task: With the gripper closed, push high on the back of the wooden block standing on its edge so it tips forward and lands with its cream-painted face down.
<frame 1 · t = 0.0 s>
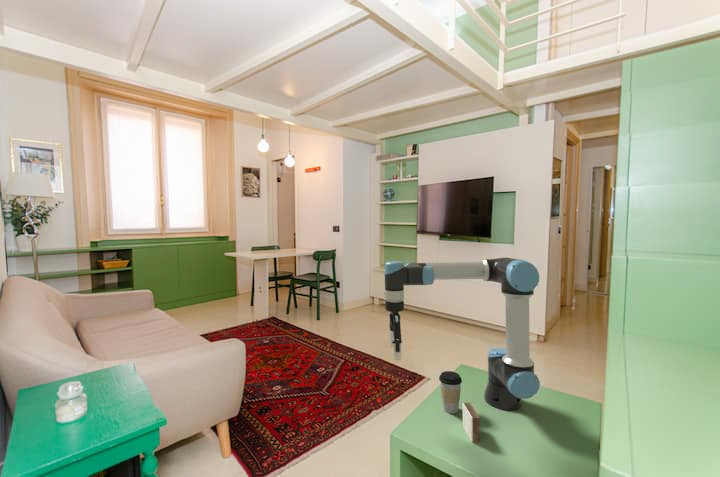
hand: (395, 352, 128), 28 cm above the table, fingers open, 13 cm apart
wooden block: (471, 433, 120), on the table
coffee cup: (450, 410, 136), on the table
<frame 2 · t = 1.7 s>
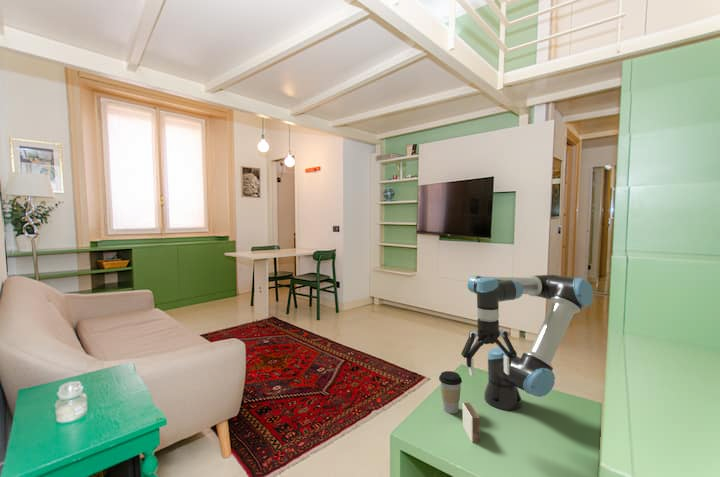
hand: (489, 374, 121), 22 cm above the table, fingers open, 13 cm apart
nothing on the table moved.
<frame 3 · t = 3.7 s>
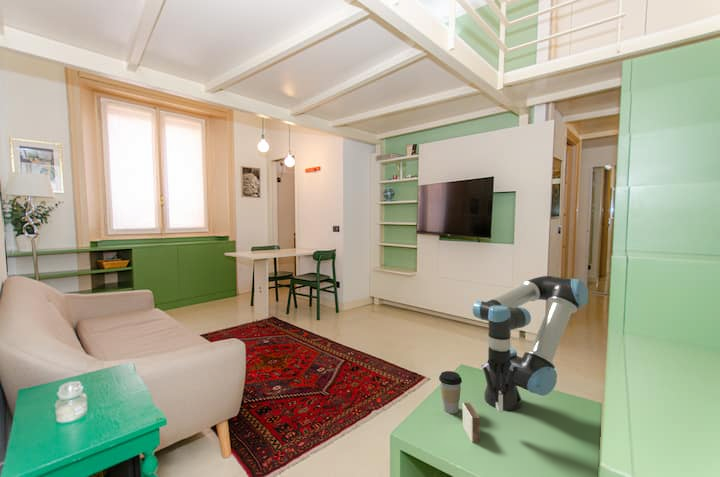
hand: (499, 409, 120), 9 cm above the table, fingers closed
nothing on the table moved.
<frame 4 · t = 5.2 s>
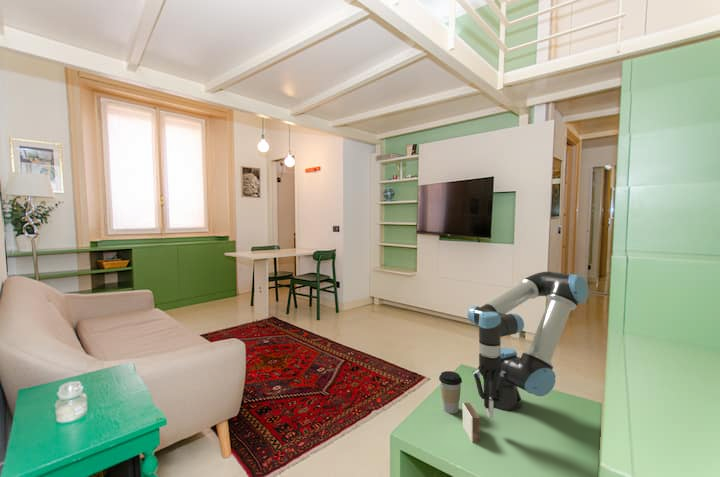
hand: (489, 416, 120), 7 cm above the table, fingers closed
nothing on the table moved.
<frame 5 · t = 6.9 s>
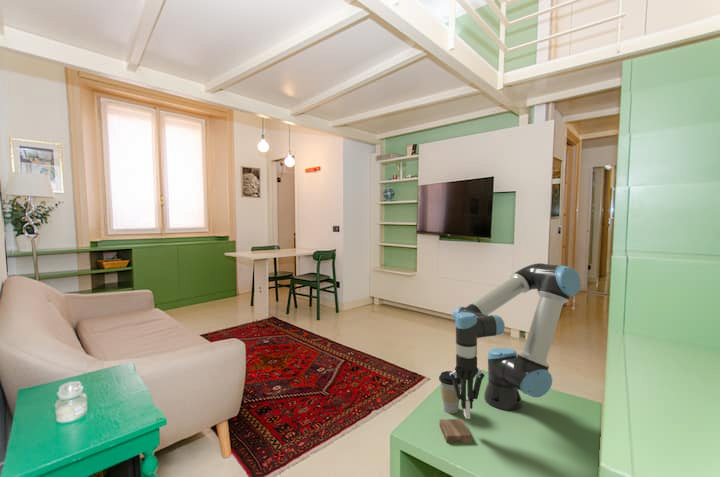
hand: (466, 416, 120), 7 cm above the table, fingers closed
wooden block: (466, 430, 120), point 1 cm above the table, tilted 90°
everything else where it was.
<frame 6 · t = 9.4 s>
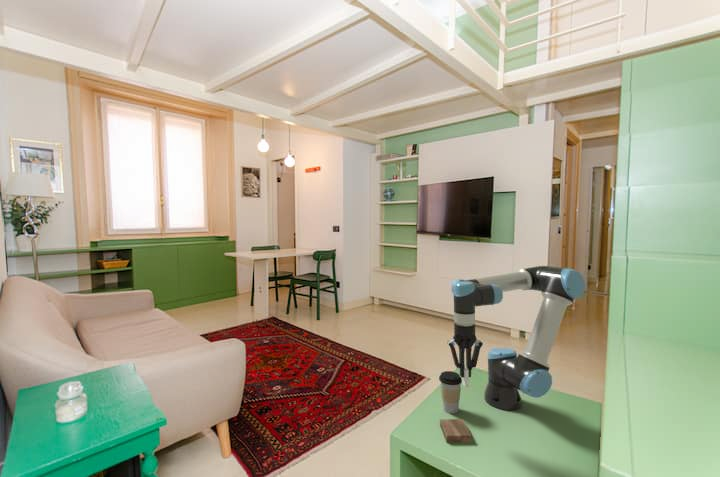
hand: (465, 385, 120), 18 cm above the table, fingers closed
nothing on the table moved.
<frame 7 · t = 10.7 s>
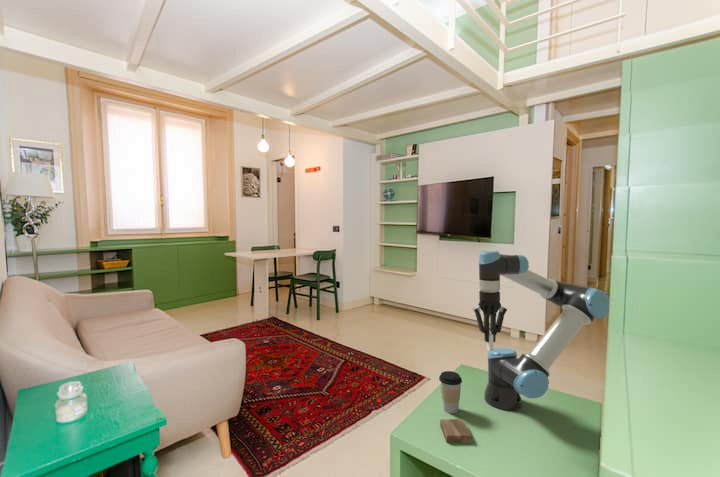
hand: (490, 349, 126), 29 cm above the table, fingers closed
nothing on the table moved.
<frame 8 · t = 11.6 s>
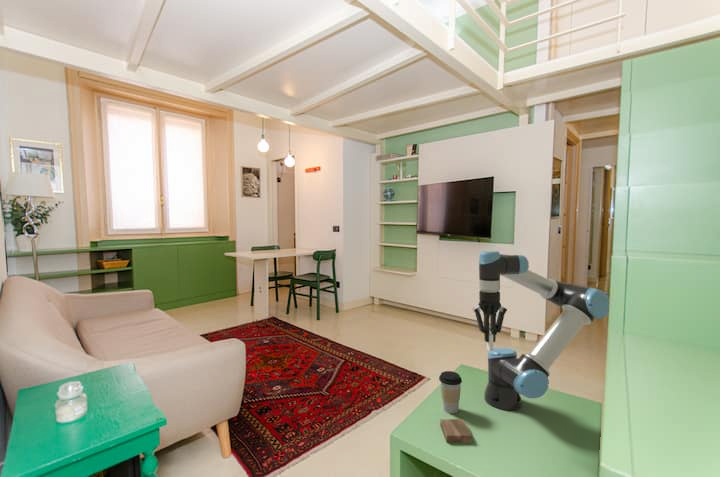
hand: (490, 349, 126), 29 cm above the table, fingers closed
nothing on the table moved.
at the end: wooden block tilted 90°; wooden block inside the target area (1.1 cm from its centre), point 1.0 cm above the table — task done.
